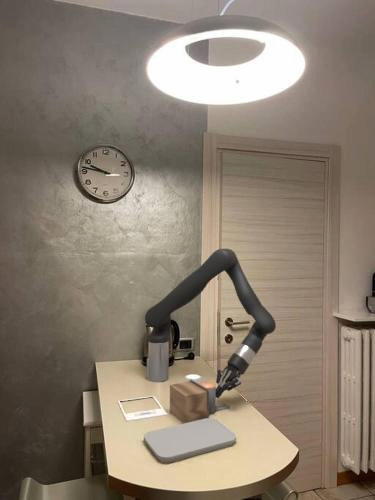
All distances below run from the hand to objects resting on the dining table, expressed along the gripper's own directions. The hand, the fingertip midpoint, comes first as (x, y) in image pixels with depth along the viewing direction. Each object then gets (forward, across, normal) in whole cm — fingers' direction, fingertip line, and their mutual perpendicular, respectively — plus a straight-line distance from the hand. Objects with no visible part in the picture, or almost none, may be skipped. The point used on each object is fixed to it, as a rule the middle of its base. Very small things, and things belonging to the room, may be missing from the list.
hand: (215, 396), depth 137 cm
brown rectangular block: (+7, 0, 0) cm, 7 cm away
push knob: (+6, 0, +1) cm, 6 cm away
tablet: (+18, +16, -10) cm, 26 cm away
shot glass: (+3, -18, +4) cm, 18 cm away
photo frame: (+20, -14, -13) cm, 28 cm away
